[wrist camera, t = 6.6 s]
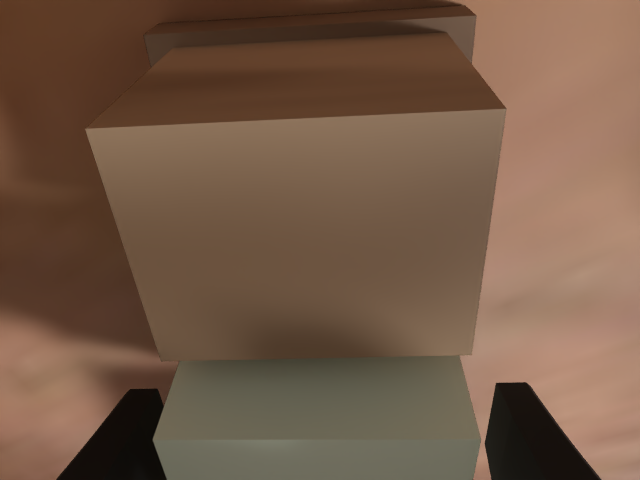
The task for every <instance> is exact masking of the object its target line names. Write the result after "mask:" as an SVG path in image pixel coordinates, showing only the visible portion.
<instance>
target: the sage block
mask: <svg viewBox="0 0 640 480" xmlns="http://www.w3.org/2000/svg"><path fill="white" fill-rule="evenodd" d="M153 442H154V445H155V448H156V451H157V453H158V456H159V459H160V462H161V465H162V467H163V470H164V473H165V476H166V478H167V480H473V477H474V472H475V467H476V462H477V457H478V452H479V448H480V443H481V437H480V433H479V429H478V425H477V422H476V418H475V414H474V410H473V406H472V402H471V399H470V395H469V391H468V387H467V383H466V379H465V376H464V372H463V368H462V364H461V360H460V356H459V355H455V356H405V357H355V358H306V359H256V360H206V361H179V364H178V367H177V370H176V373H175V376H174V379H173V382H172V385H171V388H170V391H169V394H168V396H167V399H166V402H165V405H164V408H163V411H162V414H161V417H160V420H159V423H158V426H157V429H156V432H155V434H154V437H153Z"/></svg>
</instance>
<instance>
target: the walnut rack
mask: <svg viewBox="0 0 640 480" xmlns="http://www.w3.org/2000/svg"><path fill="white" fill-rule="evenodd" d="M475 25H476V15H475V14H474V13H473V12H472V11H471V10H470V9H468V8H467V7H466V6H465V5H464V6H447V7H431V8H414V9H397V10H380V11H363V12H346V13H330V14H313V15H296V16H279V17H262V18H245V19H229V20H212V21H195V22H178V23H161V24H158V25H156V26H155V27H154V28H152V29H151V30H150V31H148V32H147V33H145V34H144V35H143V36H144V40H145V44H146V48H147V53H148V57H149V61H150V65H151V68H150V69H149V70H148V71H147V72H146V73H145V74H144V75H143V76H142V77H141V78H140V79H138V80H137V81H136V82H135V83H134V84H133V85H132V86H131V87H130V88H129V89H128V90H127V91H125V92H124V93H123V94H122V95H121V96H120V97H119V98H118V99H117V100H116V101H115V102H114V103H112V104H111V105H110V106H109V107H108V108H107V109H106V110H105V111H104V112H103V113H102V114H101V115H99V116H98V117H97V118H96V119H95V120H94V121H93V122H92V123H91V124H90V125H89V126H88V127H86V128H85V130H86V133H87V136H88V139H89V143H90V146H91V149H92V152H93V155H94V158H95V161H96V164H97V167H98V170H99V173H100V176H101V179H102V182H103V185H104V188H105V192H106V195H107V198H108V201H109V204H110V207H111V210H112V213H113V216H114V219H115V222H116V225H117V228H118V231H119V234H120V237H121V240H122V244H123V247H124V250H125V253H126V256H127V259H128V262H129V265H130V268H131V271H132V274H133V277H134V280H135V283H136V286H137V289H138V293H139V296H140V299H141V302H142V305H143V308H144V311H145V314H146V317H147V320H148V323H149V326H150V329H151V332H152V335H153V338H154V342H155V345H156V348H157V351H158V354H159V357H160V360H161V361H206V360H256V359H306V358H355V357H405V356H455V355H472V349H473V342H474V335H475V328H476V321H477V313H478V306H479V299H480V292H481V285H482V278H483V271H484V264H485V257H486V250H487V243H488V236H489V229H490V222H491V215H492V208H493V200H494V193H495V186H496V179H497V172H498V165H499V158H500V151H501V144H502V137H503V130H504V123H505V116H506V107H505V106H504V105H503V104H502V102H501V101H500V100H499V99H498V97H497V96H496V95H495V93H494V92H493V91H492V90H491V88H490V87H489V86H488V84H487V83H486V82H485V81H484V79H483V78H482V77H481V75H480V74H479V73H478V72H477V70H476V69H475V68H474V67H473V65H472V55H473V45H474V35H475Z"/></svg>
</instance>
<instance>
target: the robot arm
mask: <svg viewBox="0 0 640 480" xmlns="http://www.w3.org/2000/svg"><path fill="white" fill-rule="evenodd" d="M163 408H164V406H163V403H162V400H161V397H160V394H159V391H158V389H130V390H129V391H128V392H127V393H126V394H125V395H124V397H123V398H122V399H121V400H120V402H119V403H118V404H117V405H116V407H115V408H114V409H113V411H112V412H111V413H110V414H109V416H108V417H107V418H106V419H105V421H104V422H103V423H102V424H101V426H100V427H99V428H98V429H97V431H96V432H95V433H94V434H93V436H92V437H91V438H90V439H89V441H88V442H87V443H86V444H85V446H84V447H83V448H82V449H81V451H80V452H79V453H78V454H77V455H76V456H75V458H74V459H73V460H72V461H71V462H70V464H69V465H68V466H67V467H66V468H65V470H64V471H63V472H62V473H61V474H60V476H59V477H58V478H57V479H56V480H167V478H166V476H165V473H164V470H163V467H162V465H161V462H160V459H159V456H158V453H157V451H156V448H155V445H154V442H153V437H154V434H155V432H156V429H157V426H158V423H159V420H160V417H161V414H162V411H163ZM485 447H486V453H487V458H488V463H489V469H490V474H491V479H492V480H601V479H600V477H599V476H598V475H597V474H596V472H595V471H594V470H593V469H592V468H591V466H590V465H589V464H588V463H587V461H586V460H585V459H584V458H583V456H582V455H581V454H580V453H579V451H578V450H577V449H576V448H575V446H574V445H573V444H572V442H571V441H570V440H569V438H568V437H567V436H566V434H565V433H564V432H563V431H562V429H561V428H560V427H559V425H558V424H557V423H556V421H555V420H554V418H553V417H552V416H551V414H550V413H549V412H548V410H547V409H546V408H545V406H544V405H543V403H542V402H541V401H540V399H539V398H538V396H537V395H536V393H535V392H534V391H533V389H532V388H531V386H530V385H528V384H527V383H526V382H522V383H496V387H495V392H494V397H493V403H492V408H491V413H490V419H489V424H488V430H487V435H486V440H485Z"/></svg>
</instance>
